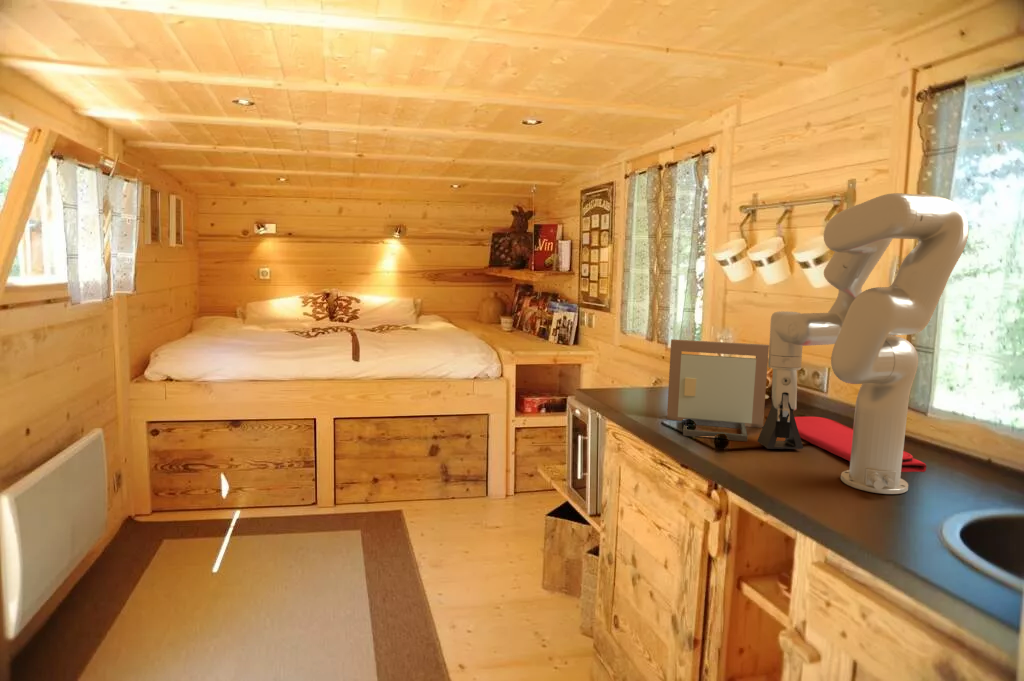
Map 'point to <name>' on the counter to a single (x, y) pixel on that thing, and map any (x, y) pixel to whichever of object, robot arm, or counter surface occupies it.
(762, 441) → the phone stand
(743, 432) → the grey flat square frame
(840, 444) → the dish drying mat
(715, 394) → the tan picture frame
